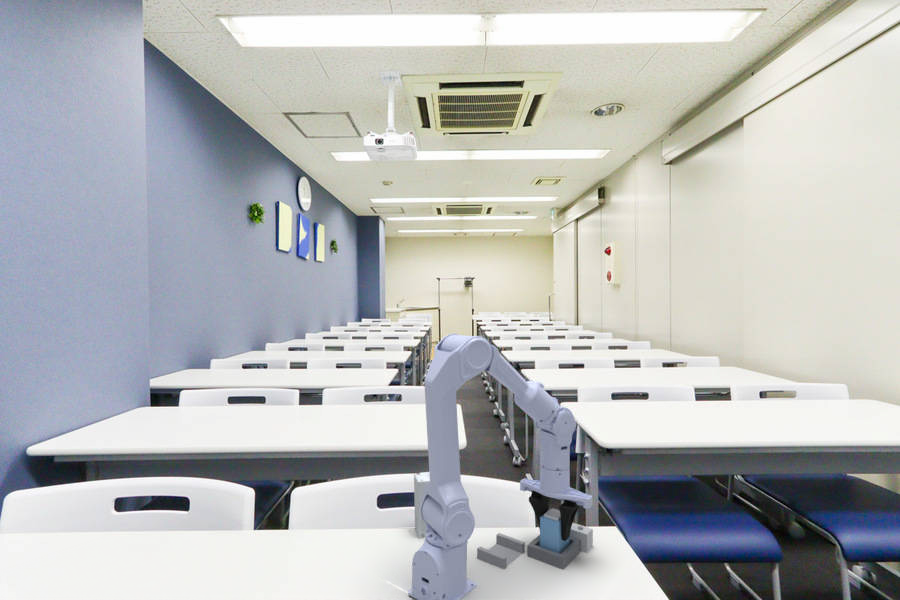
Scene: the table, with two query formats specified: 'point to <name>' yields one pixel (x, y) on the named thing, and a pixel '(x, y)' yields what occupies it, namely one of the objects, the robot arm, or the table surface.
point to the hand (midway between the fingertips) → (554, 534)
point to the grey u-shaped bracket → (502, 551)
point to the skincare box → (419, 484)
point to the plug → (552, 532)
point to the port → (578, 542)
